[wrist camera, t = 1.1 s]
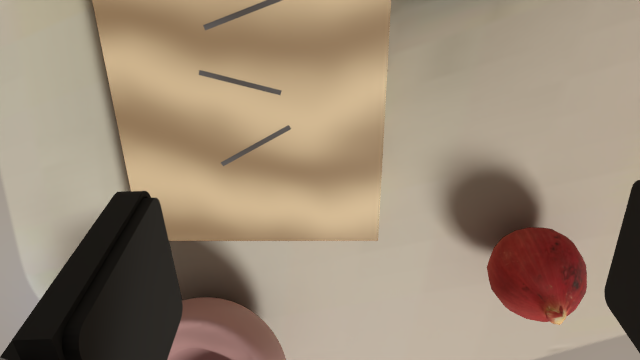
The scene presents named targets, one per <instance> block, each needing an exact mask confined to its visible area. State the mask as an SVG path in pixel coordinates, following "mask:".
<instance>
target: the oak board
mask: <svg viewBox="0 0 640 360" xmlns="http://www.w3.org/2000/svg"><path fill="white" fill-rule="evenodd" d="M92 2H93V7H94V12H95V17H96V22H97V27H98V32H99V37H100V42H101V46H102V51H103V56H104V61H105V66H106V71H107V76H108V81H109V86H110V91H111V96H112V101H113V106H114V110H115V115H116V120H117V125H118V130H119V135H120V140H121V145H122V150H123V155H124V160H125V165H126V170H127V174H128V179H129V184H130V189H131V191H147V192H148V193H149V194H150V196H151V198H158V200H159V201H160V204H161V209H162V213H163V218H164V222H165V226H166V231H167V235H168V240H169V241H378V230H379V211H380V193H381V174H382V156H383V138H384V119H385V101H386V82H387V64H388V46H389V27H390V9H391V0H92Z"/></svg>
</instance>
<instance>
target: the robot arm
mask: <svg viewBox="0 0 640 360" xmlns="http://www.w3.org/2000/svg"><path fill="white" fill-rule="evenodd" d="M605 300H606V303H607V305H608V307H609V309H610V310H611V312H612V313H613V315H614V316H615V317H616V319H617V320H618V322H619V323H620V325H621V326H622V328H623V329H624V331H625V332H626V334H627V335H628V337H629V338H630V339H631V341H632V342H633V344H634V345H635V347H636V348H637V350H638V351H639V353H640V180H638V181H636V182H635V183H634V184H633V187H632V189H631V193H630V197H629V200H628V204H627V208H626V212H625V215H624V219H623V223H622V226H621V230H620V234H619V237H618V241H617V245H616V249H615V252H614V256H613V260H612V263H611V267H610V271H609V275H608V278H607V282H606V286H605ZM182 310H183V304H182V298H181V293H180V289H179V284H178V280H177V275H176V271H175V266H174V262H173V258H172V253H171V249H170V244H169V240H168V235H167V231H166V226H165V222H164V218H163V213H162V209H161V204H160V201H159V200H158V198H151V196H150V194H149V193H148V192H147V191H127V192H117V193H116V194H115V195H114V196H113V197H112V199H111V200H110V202H109V203H108V205H107V206H106V207H105V209H104V210H103V212H102V213H101V214H100V216H99V217H98V219H97V220H96V222H95V223H94V224H93V226H92V227H91V229H90V230H89V232H88V233H87V234H86V236H85V237H84V239H83V240H82V241H81V243H80V244H79V246H78V247H77V249H76V250H75V251H74V253H73V254H72V256H71V257H70V258H69V260H68V261H67V263H66V264H65V266H64V267H63V268H62V270H61V271H60V273H59V274H58V276H57V277H56V278H55V280H54V281H53V283H52V284H51V285H50V287H49V288H48V290H47V291H46V293H45V294H44V295H43V297H42V298H41V300H40V301H39V302H38V304H37V305H36V307H35V308H34V310H33V311H32V312H31V314H30V315H29V317H28V318H27V319H26V321H25V322H24V324H23V325H22V327H21V328H20V329H19V331H18V332H17V334H16V335H15V337H14V338H13V339H12V341H11V343H10V344H9V345H8V347H7V348H6V350H5V351H4V352H3V354H2V355H1V357H0V360H167V359H168V356H169V353H170V350H171V347H172V344H173V341H174V338H175V335H176V333H177V330H178V327H179V324H180V321H181V317H182Z"/></svg>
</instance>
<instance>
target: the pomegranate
mask: <svg viewBox="0 0 640 360" xmlns="http://www.w3.org/2000/svg"><path fill="white" fill-rule="evenodd" d="M487 270H488V276H489V281H490V285H491V289H492V290H493V292H494V293H495V294H496V296H497V297H498V298H499V300H500V301H501V302H502V303H503V305H504V306H505V307H506V308H508V309H509V310H510V311H512V312H514V313H516V314H518V315H520V316H522V317H524V318H526V319H530V320H536V321H541V322H548V321H550V322H551V323H553V324H558V325H560V324H562V322H563V321H564V320H565V318H566V316H568V315H569V314H570V313H572V312H573V311H574V310H575V309H576V308H577V306H578V304H579V303H580V301H581V300H582V298H583V297H584V295H585V293H586V288H587V272H586V265H585V262H584V260H583V258H582V256H581V254H580V253H579V251H578V249H577V248H576V246H575V245H574V243H573V242H572V241H571V240H569V239H568V238H567V237H566V236H564V235H562V234H560V233H558V232H556V231H554V230H552V229H548V228H534V227H528V228H524V229H520V230H516V231H514V232H512V233H510V234H508V235H507V236H505V237H503V238H502V239H501V240H500V241H499V242H498V244H497V245H496V246H495V247H494V249H493V251H492V254H491V257H490V259H489V263H488V266H487Z"/></svg>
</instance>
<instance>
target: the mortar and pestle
mask: <svg viewBox="0 0 640 360" xmlns="http://www.w3.org/2000/svg"><path fill="white" fill-rule="evenodd" d="M182 304H183V310H182V317H181V321H180V324H179V327H178V330H177V333H176V335H175V338H174V341H173V344H172V347H171V350H170V353H169V356H168V359H167V360H286V358H285V355H284V352H283V350H282V347H281V345H280V343H279V341H278V339H277V338H276V336H275V335H274V333H273V332H272V330H271V329H270V328H269V326H268V325H267V324H266V323H265V322H264V321H263V320H262V319H261V318H260V317H259V316H257V315H256V314H255V313H253V312H252V311H251V310H249V309H247V308H245V307H244V306H242V305H240V304H237V303H235V302H232V301H228V300H225V299H219V298H212V297H199V298H192V299H186V300H182Z"/></svg>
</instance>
